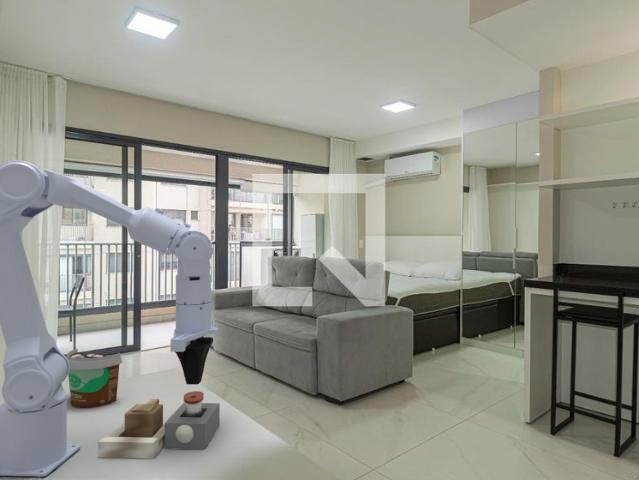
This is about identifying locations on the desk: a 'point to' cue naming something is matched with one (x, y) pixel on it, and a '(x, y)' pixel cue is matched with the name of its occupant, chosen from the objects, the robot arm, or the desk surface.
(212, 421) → the grey housing block
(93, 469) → the desk surface
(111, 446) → the channel
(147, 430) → the block
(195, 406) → the plunger
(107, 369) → the food container
